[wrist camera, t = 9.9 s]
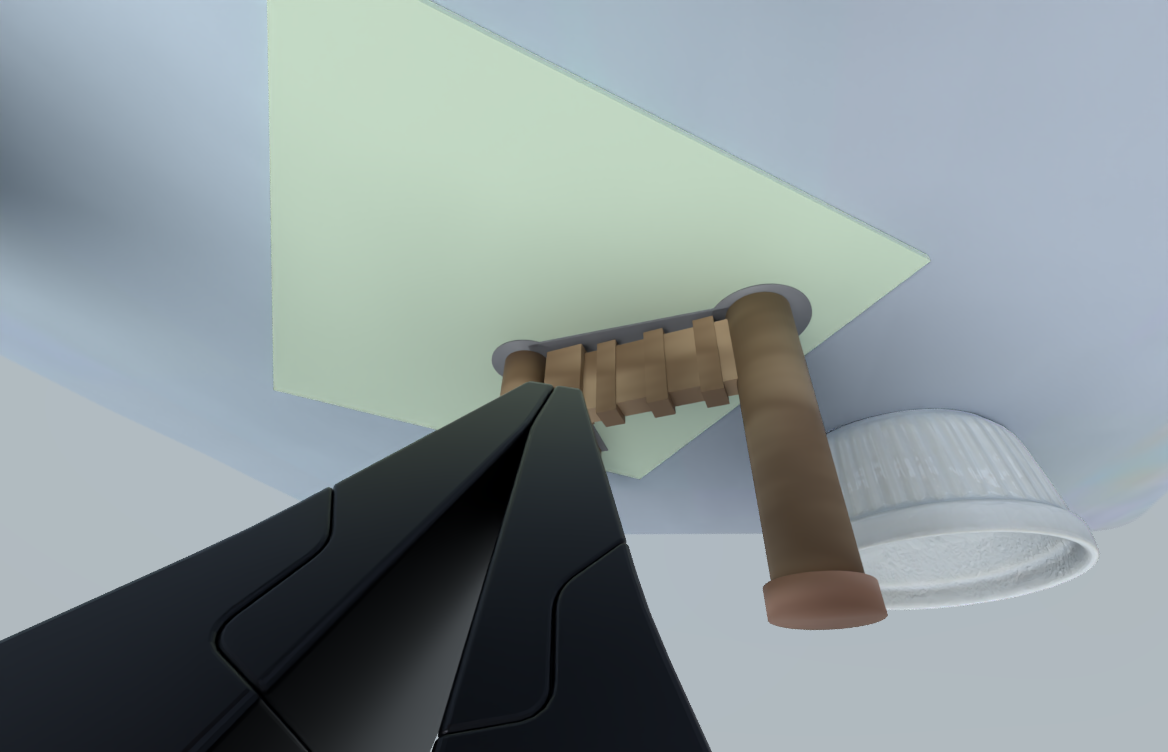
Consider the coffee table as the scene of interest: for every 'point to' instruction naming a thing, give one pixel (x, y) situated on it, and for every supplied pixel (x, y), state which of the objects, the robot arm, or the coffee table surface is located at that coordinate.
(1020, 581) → the ramekin
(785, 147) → the coffee table surface
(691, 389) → the fence swing panel
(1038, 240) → the coffee table surface
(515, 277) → the card
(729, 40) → the coffee table surface
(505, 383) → the fence fixed panel
